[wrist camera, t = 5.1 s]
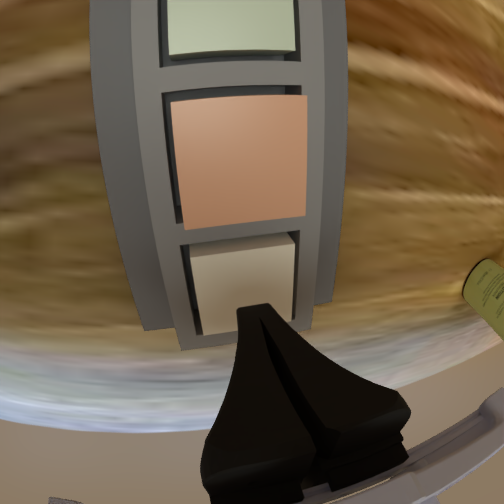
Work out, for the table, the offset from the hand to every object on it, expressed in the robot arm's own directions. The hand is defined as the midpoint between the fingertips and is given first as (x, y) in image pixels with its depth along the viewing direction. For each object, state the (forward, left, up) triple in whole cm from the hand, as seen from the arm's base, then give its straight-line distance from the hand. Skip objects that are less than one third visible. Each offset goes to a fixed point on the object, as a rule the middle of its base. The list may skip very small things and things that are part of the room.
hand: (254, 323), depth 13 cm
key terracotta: (0, +6, -3) cm, 7 cm away
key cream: (0, 0, -4) cm, 4 cm away
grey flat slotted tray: (0, +10, -6) cm, 11 cm away
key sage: (0, +13, -4) cm, 13 cm away
